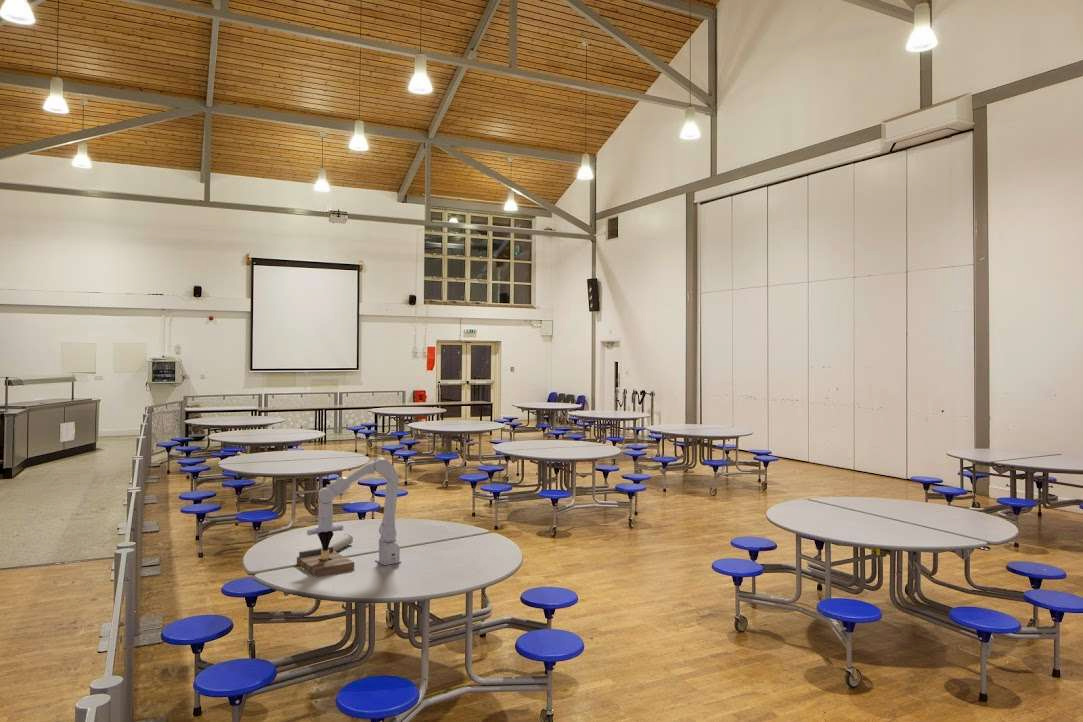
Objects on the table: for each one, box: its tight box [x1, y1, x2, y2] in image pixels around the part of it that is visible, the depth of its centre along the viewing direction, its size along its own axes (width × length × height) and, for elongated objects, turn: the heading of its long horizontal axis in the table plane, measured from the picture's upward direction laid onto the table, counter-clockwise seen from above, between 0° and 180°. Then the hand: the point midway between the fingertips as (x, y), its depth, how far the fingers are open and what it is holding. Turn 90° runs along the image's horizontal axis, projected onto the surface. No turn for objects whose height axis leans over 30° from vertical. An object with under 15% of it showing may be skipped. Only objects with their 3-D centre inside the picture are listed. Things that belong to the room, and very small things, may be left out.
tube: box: [318, 533, 354, 553], centre depth 299 cm, size 5×5×25 cm
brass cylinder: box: [321, 549, 329, 562], centre depth 276 cm, size 3×3×7 cm
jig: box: [296, 547, 355, 577], centre depth 276 cm, size 22×16×5 cm
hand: (325, 550), depth 276 cm, fingers closed, pressing on brass cylinder
